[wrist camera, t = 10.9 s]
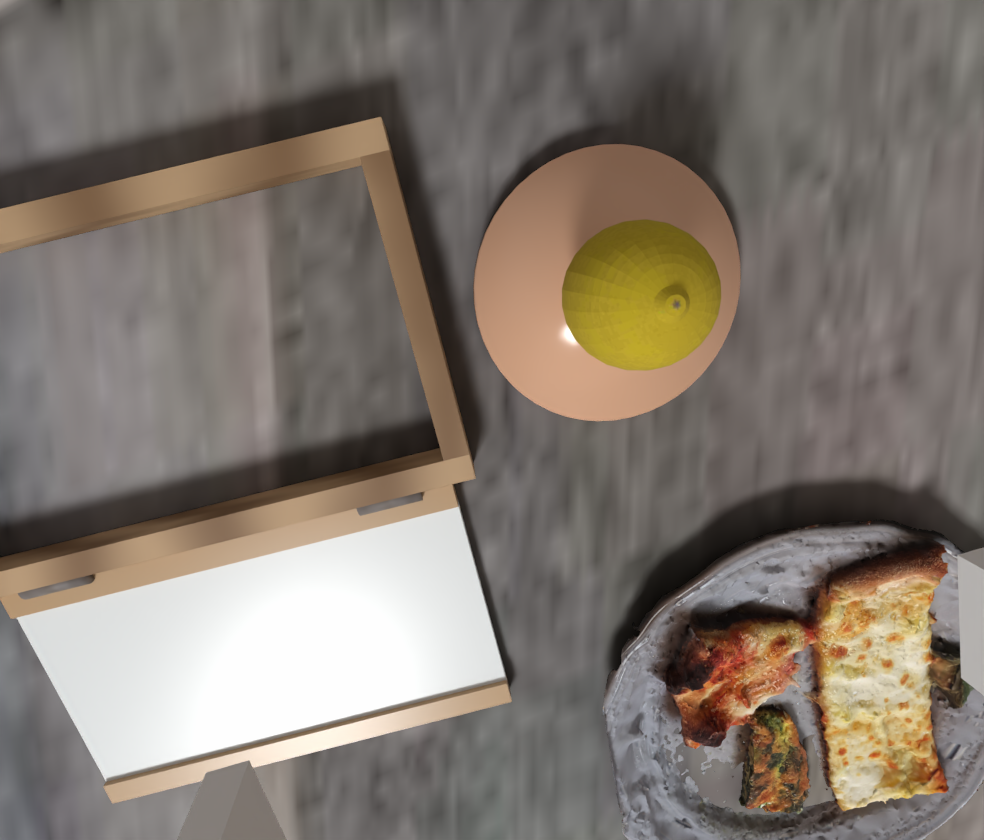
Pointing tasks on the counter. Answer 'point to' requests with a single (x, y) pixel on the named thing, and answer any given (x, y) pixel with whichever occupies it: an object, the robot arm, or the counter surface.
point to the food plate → (803, 690)
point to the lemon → (641, 295)
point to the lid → (271, 644)
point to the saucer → (547, 255)
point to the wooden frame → (293, 502)
